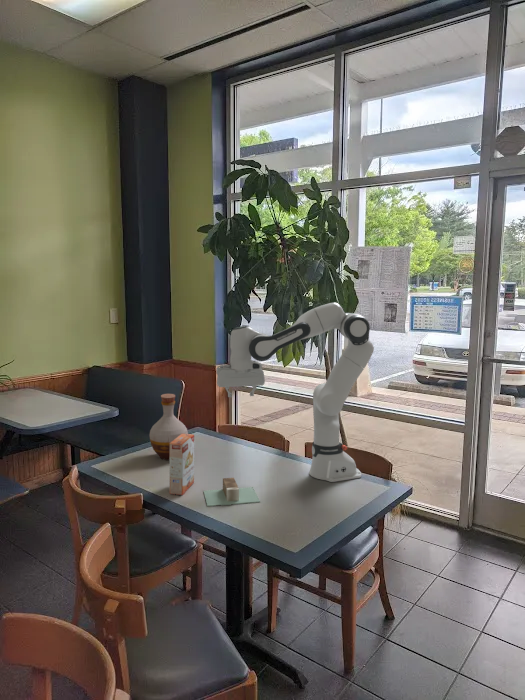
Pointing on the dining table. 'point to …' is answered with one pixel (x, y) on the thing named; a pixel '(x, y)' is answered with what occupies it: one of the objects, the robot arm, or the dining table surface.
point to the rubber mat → (220, 499)
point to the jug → (166, 428)
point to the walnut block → (230, 489)
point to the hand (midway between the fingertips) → (240, 396)
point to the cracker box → (181, 464)
